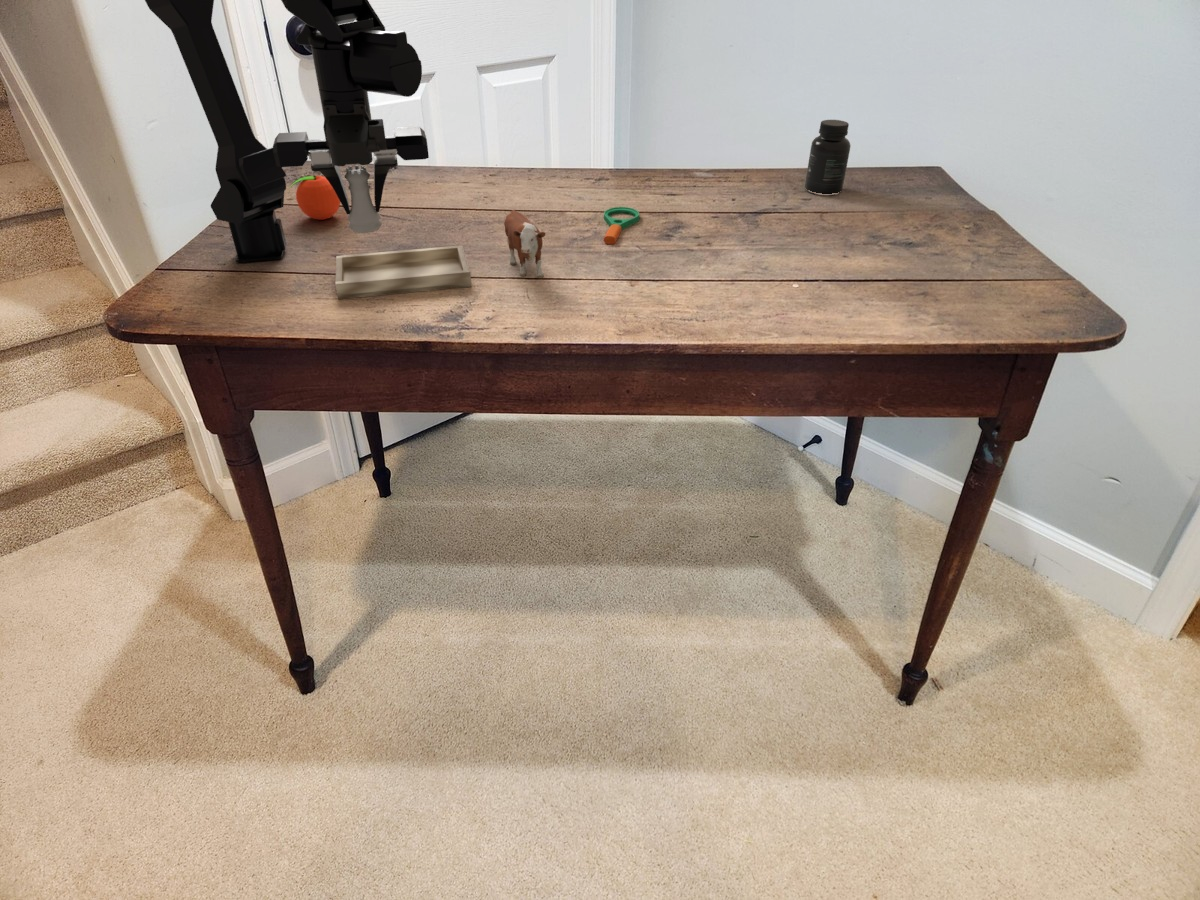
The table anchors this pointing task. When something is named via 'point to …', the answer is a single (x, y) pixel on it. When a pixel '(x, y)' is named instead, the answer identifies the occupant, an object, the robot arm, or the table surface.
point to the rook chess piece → (361, 202)
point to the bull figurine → (523, 241)
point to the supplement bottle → (828, 158)
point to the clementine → (317, 197)
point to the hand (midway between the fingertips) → (363, 212)
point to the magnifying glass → (618, 222)
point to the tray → (401, 272)
